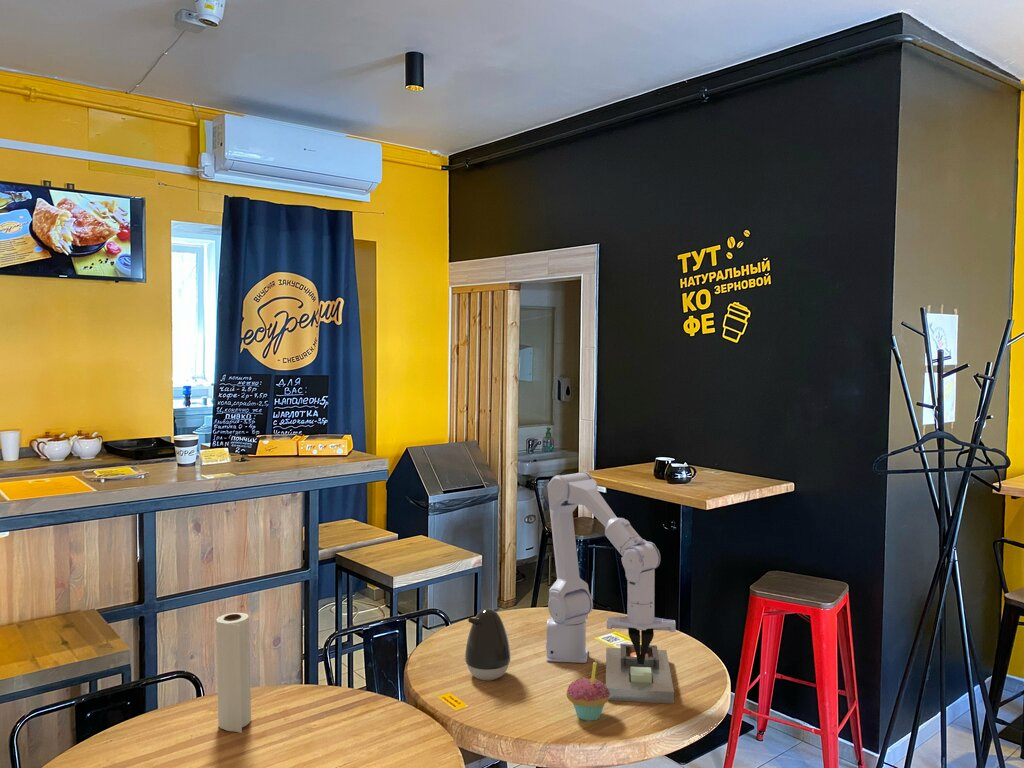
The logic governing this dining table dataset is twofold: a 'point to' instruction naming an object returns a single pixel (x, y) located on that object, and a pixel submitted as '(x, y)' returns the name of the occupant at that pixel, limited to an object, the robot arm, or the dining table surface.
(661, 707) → the dining table surface
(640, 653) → the button
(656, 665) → the control box
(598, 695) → the cupcake
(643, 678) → the pale green block
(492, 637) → the dark grey egg-shaped figure
